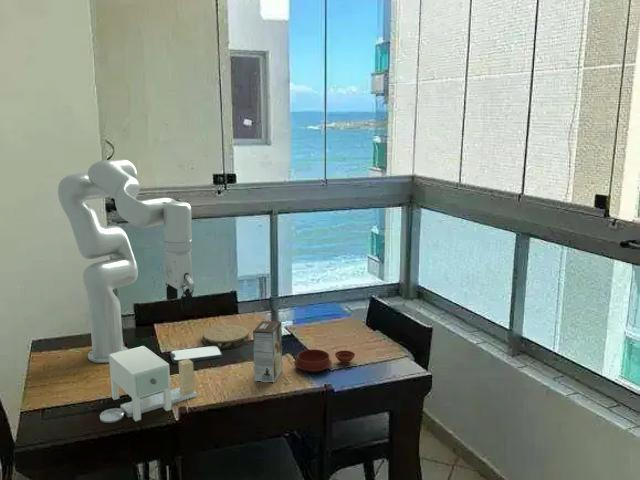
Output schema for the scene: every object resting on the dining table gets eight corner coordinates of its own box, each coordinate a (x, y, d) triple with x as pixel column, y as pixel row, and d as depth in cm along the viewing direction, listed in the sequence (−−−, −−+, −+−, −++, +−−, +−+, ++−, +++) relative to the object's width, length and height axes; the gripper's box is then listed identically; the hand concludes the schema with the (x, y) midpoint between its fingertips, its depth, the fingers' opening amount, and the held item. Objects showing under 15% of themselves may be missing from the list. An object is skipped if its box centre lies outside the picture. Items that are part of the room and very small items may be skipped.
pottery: (289, 364, 187) (289, 351, 186) (346, 355, 195) (346, 342, 194) (302, 379, 177) (302, 365, 176) (362, 368, 184) (362, 355, 183)
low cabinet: (112, 398, 164) (108, 354, 162) (146, 387, 171) (143, 345, 168) (138, 423, 151) (134, 376, 148) (174, 411, 157) (171, 366, 154)
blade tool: (120, 409, 159) (118, 374, 156) (187, 389, 170) (186, 357, 168) (128, 418, 154) (126, 382, 152) (196, 397, 166) (195, 363, 163)
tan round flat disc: (257, 338, 210) (257, 330, 209) (228, 352, 197) (227, 344, 196) (223, 329, 218) (223, 321, 218) (193, 343, 205) (192, 335, 204)
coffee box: (262, 369, 184) (262, 320, 180) (282, 370, 182) (282, 321, 179) (253, 381, 175) (252, 330, 171) (274, 383, 174) (273, 332, 170)
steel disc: (96, 417, 155) (96, 412, 154) (119, 410, 158) (119, 406, 158) (104, 426, 150) (104, 422, 150) (127, 418, 154) (127, 414, 154)
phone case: (217, 349, 201) (169, 355, 195) (217, 344, 200) (169, 350, 194) (223, 359, 192) (173, 365, 187) (223, 354, 192) (173, 361, 186)
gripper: (153, 241, 169) (154, 297, 173) (178, 254, 156) (180, 315, 160) (177, 238, 174) (178, 293, 178) (204, 251, 161) (205, 310, 164)
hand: (179, 303), depth 169 cm, fingers open, 9 cm apart
